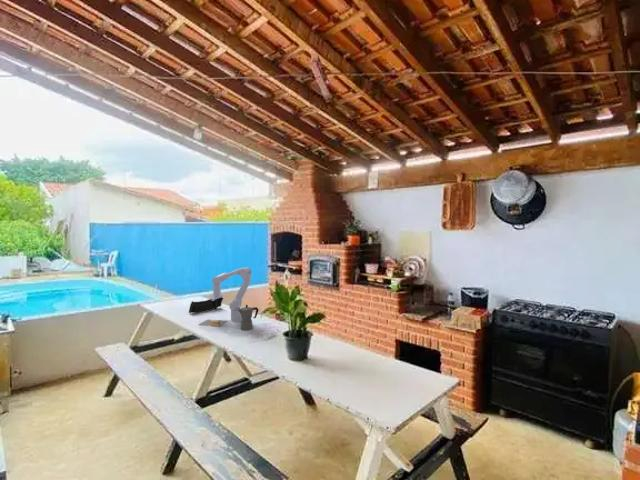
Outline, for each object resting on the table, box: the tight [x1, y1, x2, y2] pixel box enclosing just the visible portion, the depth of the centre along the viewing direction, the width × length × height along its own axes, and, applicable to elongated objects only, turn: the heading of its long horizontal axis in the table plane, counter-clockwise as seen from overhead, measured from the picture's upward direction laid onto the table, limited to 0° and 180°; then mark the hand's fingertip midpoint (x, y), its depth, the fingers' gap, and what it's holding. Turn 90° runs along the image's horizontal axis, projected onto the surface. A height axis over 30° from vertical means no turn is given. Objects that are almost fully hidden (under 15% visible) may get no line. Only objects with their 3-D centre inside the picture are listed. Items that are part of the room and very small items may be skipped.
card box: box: [210, 319, 221, 326], centre depth 278 cm, size 4×7×3 cm, turn 81°
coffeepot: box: [238, 304, 259, 331], centre depth 270 cm, size 15×9×18 cm, turn 111°
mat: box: [198, 319, 229, 328], centre depth 282 cm, size 18×16×1 cm
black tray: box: [188, 298, 219, 314], centre depth 319 cm, size 17×3×30 cm
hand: (217, 307), depth 294 cm, fingers open, 7 cm apart
